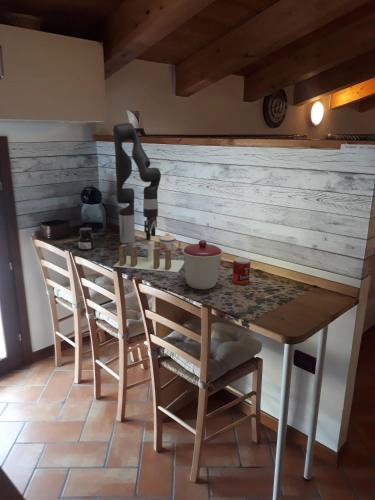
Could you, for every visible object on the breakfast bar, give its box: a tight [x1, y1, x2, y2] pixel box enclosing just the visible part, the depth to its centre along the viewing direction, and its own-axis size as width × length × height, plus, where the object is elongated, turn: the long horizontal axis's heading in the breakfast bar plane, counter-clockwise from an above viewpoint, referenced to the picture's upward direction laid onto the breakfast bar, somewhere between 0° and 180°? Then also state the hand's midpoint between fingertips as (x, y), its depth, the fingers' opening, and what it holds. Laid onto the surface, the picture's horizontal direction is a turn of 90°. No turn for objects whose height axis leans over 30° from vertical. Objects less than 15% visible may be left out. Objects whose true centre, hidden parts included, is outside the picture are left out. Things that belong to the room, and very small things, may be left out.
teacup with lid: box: [159, 233, 178, 256], centre depth 219 cm, size 12×9×12 cm
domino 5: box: [164, 248, 172, 270], centre depth 194 cm, size 5×2×10 cm, turn 168°
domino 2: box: [129, 244, 138, 267], centre depth 197 cm, size 5×2×10 cm, turn 168°
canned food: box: [232, 256, 251, 286], centre depth 179 cm, size 8×8×11 cm
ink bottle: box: [77, 227, 95, 252], centre depth 225 cm, size 10×9×12 cm
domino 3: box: [147, 240, 155, 262], centre depth 206 cm, size 5×2×10 cm, turn 168°
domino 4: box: [153, 246, 161, 269], centre depth 195 cm, size 5×2×10 cm, turn 168°
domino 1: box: [118, 243, 127, 266], centre depth 198 cm, size 5×2×10 cm, turn 168°
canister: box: [181, 239, 224, 290], centre depth 172 cm, size 18×18×21 cm
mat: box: [113, 255, 184, 273], centre depth 202 cm, size 18×34×1 cm, turn 78°
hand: (150, 237), depth 204 cm, fingers open, 8 cm apart
